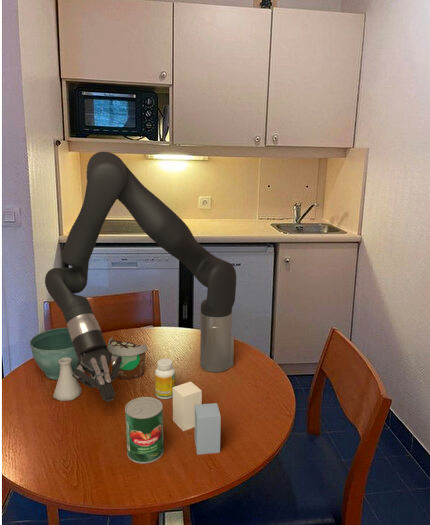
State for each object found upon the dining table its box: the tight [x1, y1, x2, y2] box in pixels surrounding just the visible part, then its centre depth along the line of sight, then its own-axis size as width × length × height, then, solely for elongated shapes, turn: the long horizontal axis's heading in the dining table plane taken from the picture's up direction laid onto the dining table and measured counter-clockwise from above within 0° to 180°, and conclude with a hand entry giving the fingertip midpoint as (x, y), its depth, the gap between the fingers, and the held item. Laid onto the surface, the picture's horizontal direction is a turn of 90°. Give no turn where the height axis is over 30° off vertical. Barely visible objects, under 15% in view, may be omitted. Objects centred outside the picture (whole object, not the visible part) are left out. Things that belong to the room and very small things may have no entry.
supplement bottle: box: [154, 358, 176, 400], centre depth 118 cm, size 5×5×10 cm
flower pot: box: [29, 327, 78, 381], centre depth 129 cm, size 16×16×11 cm
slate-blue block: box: [194, 402, 222, 455], centre depth 98 cm, size 5×5×9 cm
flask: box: [52, 358, 83, 402], centre depth 118 cm, size 7×7×10 cm
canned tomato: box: [124, 396, 165, 465], centre depth 96 cm, size 8×8×11 cm
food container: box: [107, 336, 148, 381], centre depth 127 cm, size 12×6×10 cm, turn 68°
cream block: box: [172, 381, 203, 432], centre depth 106 cm, size 5×5×9 cm
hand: (110, 400), depth 106 cm, fingers closed
